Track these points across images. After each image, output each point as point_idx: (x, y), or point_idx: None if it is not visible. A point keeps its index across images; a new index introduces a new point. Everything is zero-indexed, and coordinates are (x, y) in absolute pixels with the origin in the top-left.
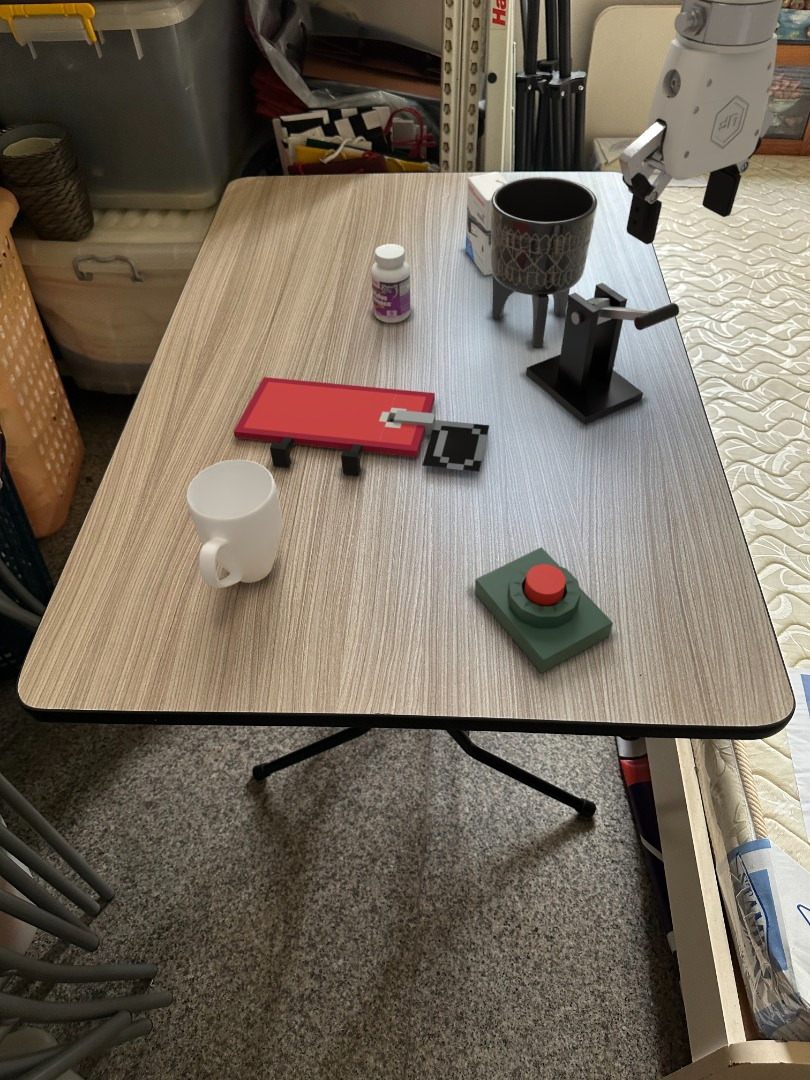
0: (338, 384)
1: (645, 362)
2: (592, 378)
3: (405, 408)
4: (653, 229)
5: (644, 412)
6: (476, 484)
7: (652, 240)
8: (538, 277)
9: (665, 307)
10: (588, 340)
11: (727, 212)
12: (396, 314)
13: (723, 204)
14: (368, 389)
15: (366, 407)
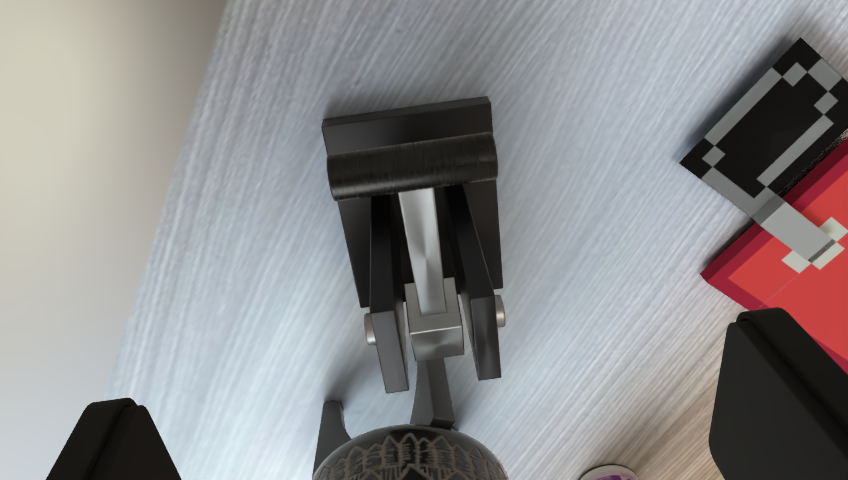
0: None
1: (245, 226)
2: (400, 211)
3: (781, 262)
4: (825, 367)
5: (338, 80)
6: (798, 21)
7: (763, 317)
8: (467, 465)
9: (378, 182)
10: (480, 247)
11: (114, 415)
12: (621, 477)
13: (127, 475)
14: None
15: (833, 289)
